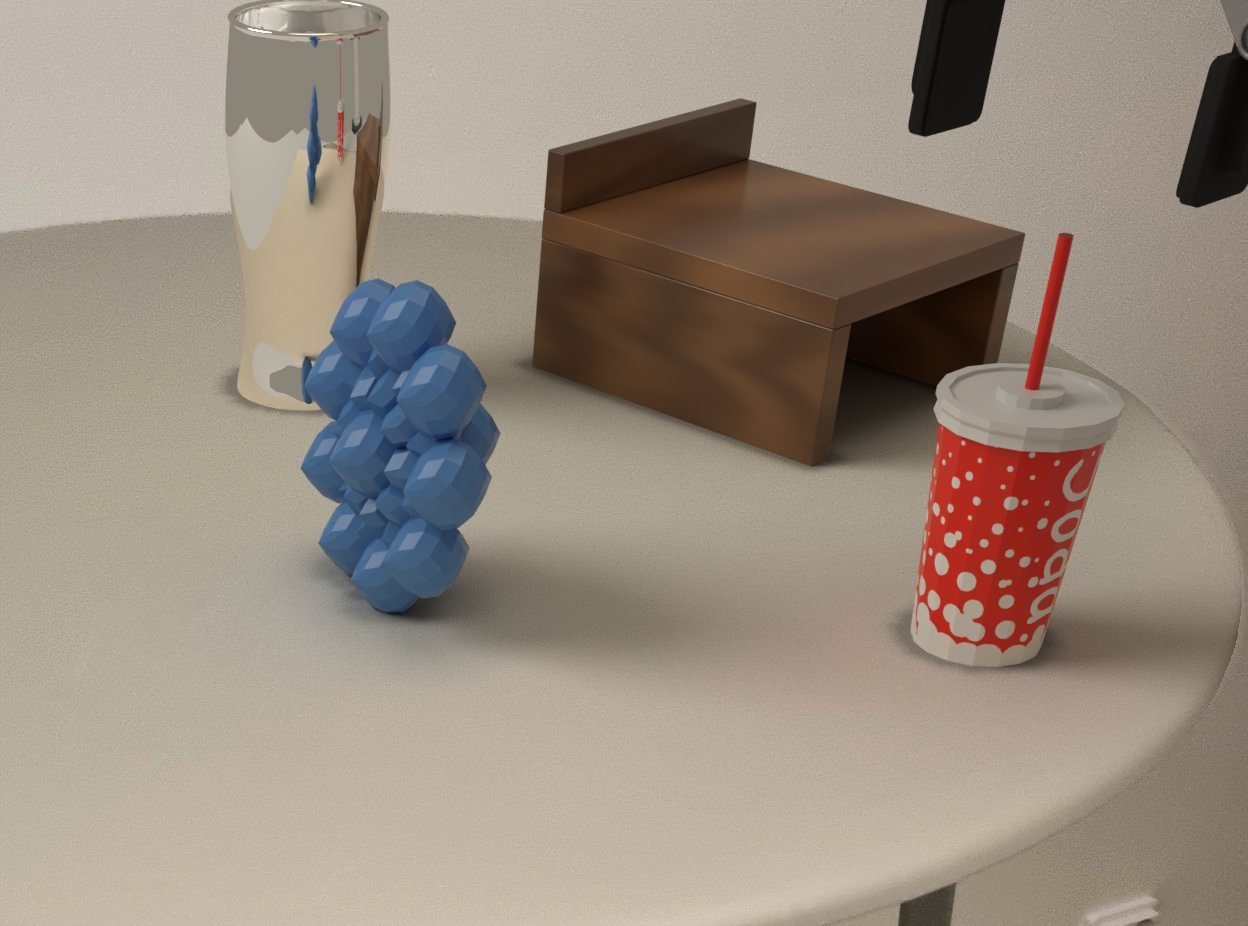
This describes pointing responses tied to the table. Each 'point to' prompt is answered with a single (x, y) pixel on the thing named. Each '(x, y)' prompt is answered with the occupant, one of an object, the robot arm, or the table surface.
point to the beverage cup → (1007, 497)
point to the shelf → (751, 281)
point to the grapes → (398, 443)
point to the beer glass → (303, 176)
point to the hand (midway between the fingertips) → (1071, 161)
